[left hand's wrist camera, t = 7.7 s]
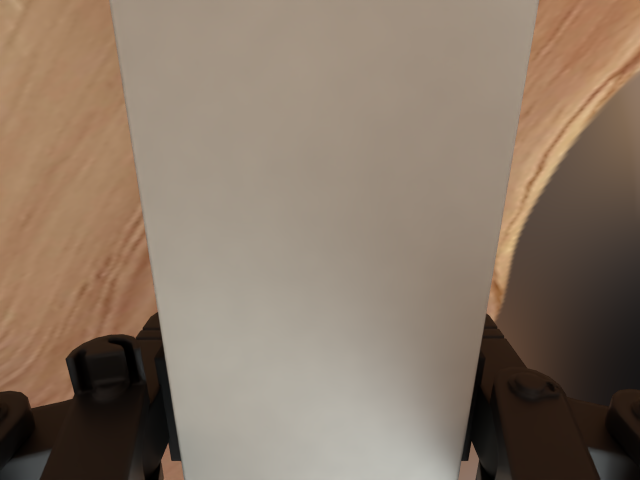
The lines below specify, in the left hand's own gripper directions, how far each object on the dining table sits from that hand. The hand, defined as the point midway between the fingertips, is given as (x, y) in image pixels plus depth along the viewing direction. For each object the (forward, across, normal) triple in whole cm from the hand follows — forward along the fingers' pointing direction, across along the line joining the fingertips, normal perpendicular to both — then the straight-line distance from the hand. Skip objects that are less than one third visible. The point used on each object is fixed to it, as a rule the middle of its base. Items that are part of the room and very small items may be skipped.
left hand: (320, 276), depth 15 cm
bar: (+1, 0, -19) cm, 19 cm away
